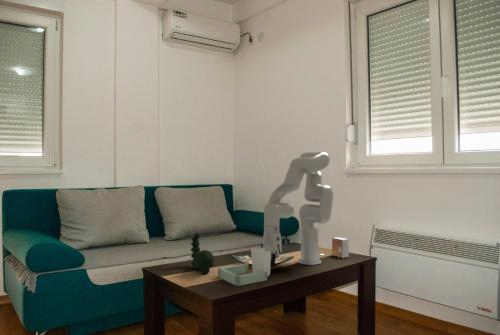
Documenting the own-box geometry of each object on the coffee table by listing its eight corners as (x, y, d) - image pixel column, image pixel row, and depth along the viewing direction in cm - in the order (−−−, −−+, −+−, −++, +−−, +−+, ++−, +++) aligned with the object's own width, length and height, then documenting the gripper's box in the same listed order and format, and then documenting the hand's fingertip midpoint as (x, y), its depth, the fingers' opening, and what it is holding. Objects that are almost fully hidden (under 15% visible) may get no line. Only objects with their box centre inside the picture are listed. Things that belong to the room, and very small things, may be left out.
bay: (246, 271, 192) (246, 259, 192) (267, 280, 178) (267, 267, 178) (218, 276, 183) (218, 264, 183) (237, 286, 169) (237, 272, 169)
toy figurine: (186, 269, 202) (199, 277, 180) (185, 232, 204) (199, 236, 181) (203, 267, 206) (219, 275, 183) (203, 231, 208) (218, 234, 185)
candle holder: (275, 275, 185) (275, 250, 185) (258, 278, 180) (258, 252, 180) (263, 270, 193) (264, 246, 193) (247, 273, 188) (247, 249, 188)
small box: (331, 255, 228) (331, 237, 228) (338, 254, 231) (338, 236, 231) (342, 258, 221) (342, 239, 221) (348, 257, 225) (348, 238, 225)
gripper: (287, 230, 185) (287, 269, 186) (268, 226, 198) (268, 262, 198) (275, 232, 181) (274, 271, 181) (256, 227, 194) (256, 264, 194)
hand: (271, 266), depth 190 cm, fingers closed
